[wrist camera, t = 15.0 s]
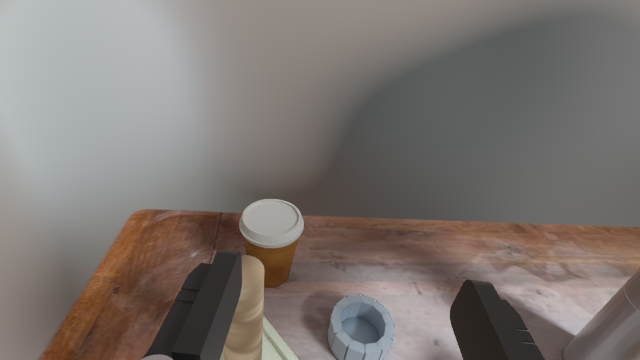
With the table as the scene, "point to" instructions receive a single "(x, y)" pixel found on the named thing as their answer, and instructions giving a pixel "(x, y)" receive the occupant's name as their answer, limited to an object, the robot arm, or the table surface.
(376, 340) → the holder
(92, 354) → the table surface
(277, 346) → the tray
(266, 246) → the disposable coffee cup
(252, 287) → the dowel
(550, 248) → the table surface
